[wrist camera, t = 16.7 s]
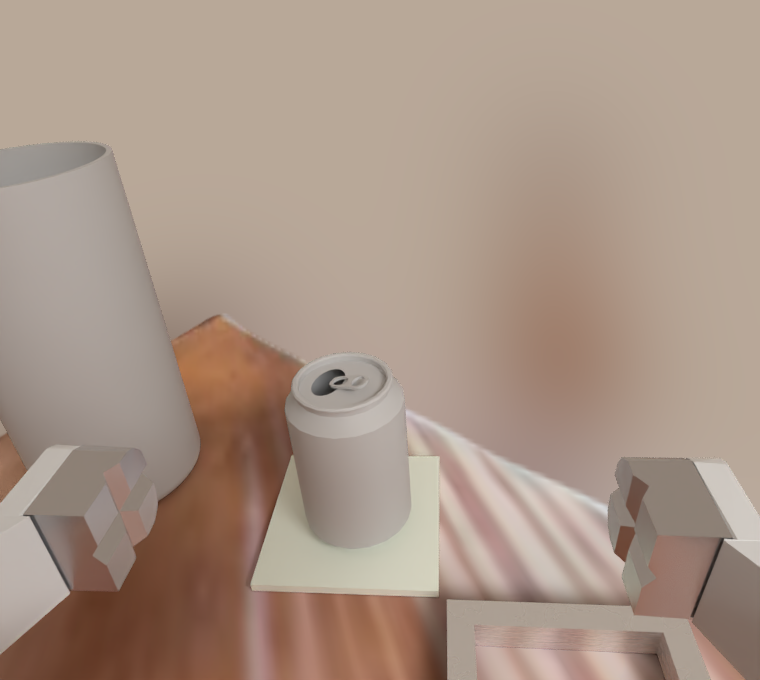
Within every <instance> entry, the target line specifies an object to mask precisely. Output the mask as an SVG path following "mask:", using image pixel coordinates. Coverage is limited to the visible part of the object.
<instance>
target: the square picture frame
mask: <svg viewBox="0 0 760 680" xmlns="http://www.w3.org/2000/svg"><path fill="white" fill-rule="evenodd" d="M475 646H493V647H515V648H537V649H560V650H582V651H604V652H626V653H648V654H657V656H658V659H659V662H660V665H661V668H662V671H663V674H664V678H665V680H711V679H710V676H709V674H708V671H707V669H706V666H705V663H704V661H703V658H702V656H701V653H700V651H699V648H698V645H697V643H696V640H695V638H694V635H693V632H692V630H691V627H690V625H689V622H688V620H687V619H680V618H666V617H653V616H639V615H634V614H633V611H632V608H631V606H617V605H589V604H561V603H534V602H506V601H478V600H451V599H447V680H477V670H476V651H475Z"/></svg>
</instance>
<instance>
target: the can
mask: <svg viewBox="0 0 760 680" xmlns="http://www.w3.org/2000/svg"><path fill="white" fill-rule="evenodd" d="M285 415H286V420H287V425H288V430H289V435H290V440H291V445H292V450H293V455H294V460H295V465H296V470H297V475H298V480H299V485H300V490H301V495H302V499H303V504H304V509H305V514H306V518H307V521H308V524H309V526H310V529H311V530H312V531H313V532H314V533H315V534H316V535H317V536H318V537H319V539H321V540H323V541H325V542H327V543H329V544H331V545H333V546H336V547H342V548H347V549H357V548H368V547H371V546H374V545H377V544H380V543H382V542H385V541H387V540H388V539H389V538H391V537H392V536H394V535H395V534H396V533H398V532H399V531H400V530H401V528H402V527H403V526H404V524H405V523H406V521H407V520H408V518H409V514H410V510H411V507H412V505H411V490H410V474H409V459H408V444H407V428H406V413H405V398H404V392H403V387H402V386H401V385H400V383H399V382H398V381H397V379H396V378H395V377H393V376H392V371H391V369H390V368H389V366H388V365H387V364H386V363H385V362H383V361H382V360H380V359H379V358H377V357H375V356H371V355H368V354H364V353H355V352H343V353H334V354H330V355H326V356H323V357H320V358H318V359H316V360H313V361H311V362H309V363H308V364H306V365H305V366H304V367H303V368H301V369H300V370H299V371H298V372H297V374H296V375H295V377H294V378H293V380H292V386H291V392H290V393H289V395H288V396H287V398H286V403H285Z"/></svg>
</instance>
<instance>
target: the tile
mask: <svg viewBox="0 0 760 680" xmlns="http://www.w3.org/2000/svg"><path fill="white" fill-rule="evenodd" d="M408 459H409V474H410V490H411V505H412V507H411V510H410V514H409V518H408V520H407V521H406V523H405V524H404V526H403V527H402V528H401V530H400V531H399V532H398V533H396V534H395V535H394V536H392V537H391V538H389V539H388V540H387V541H385V542H382V543H380V544H377V545H374V546H371V547H368V548H357V549H347V548H342V547H336V546H333V545H331V544H329V543H327V542H325V541H323V540H321V539H319V537H318V536H317V535H316V534H315V533H314V532H313V531H312V530H311V529H310V526H309V524H308V521H307V518H306V514H305V509H304V504H303V499H302V495H301V490H300V485H299V480H298V475H297V470H296V465H295V460H294V455H292V456H291V459H290V462H289V465H288V468H287V471H286V474H285V478H284V481H283V484H282V487H281V490H280V493H279V496H278V499H277V503H276V506H275V509H274V512H273V515H272V518H271V521H270V524H269V528H268V531H267V534H266V537H265V540H264V543H263V546H262V549H261V553H260V556H259V559H258V562H257V565H256V568H255V571H254V575H253V578H252V581H251V584H250V586H251V589H252V591H277V592H305V593H333V594H361V595H389V596H417V597H439V485H440V458H439V456H408Z"/></svg>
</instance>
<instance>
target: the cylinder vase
mask: <svg viewBox="0 0 760 680" xmlns="http://www.w3.org/2000/svg"><path fill="white" fill-rule="evenodd" d="M0 420H1V421H2V424H3V426H4V427H5V429H6V431H7V433H8V435H9V437H10V439H11V441H12V443H13V445H14V446H15V448H16V450H17V452H18V454H19V456H20V458H21V460H22V462H23V463H24V465H25V467H26V469H27V471H28V470H29V469H30V468H31V466H32V465H33V464H34V463H35V462H36V460H37V459H38V458H39V457H40V456H41V455H42V453H43V452H44V451H45V450H46V449H47V448H49V447H52V446H54V445H71V446H82V445H86V446H108V447H130V448H136V449H139V450H141V451H142V453H143V456H144V458H145V461H146V463H147V465H146V467H145V469H144V470H143V472H142V474H144V475H145V476H146V477H147V478H148V479H150V480H151V481H152V482H153V483H154V486H155V489H156V492H157V500H158V501H159V500H161V499H162V498H164V497H165V496H167V495H168V494H169V493H171V492H172V491H173V490H174V489H176V488H177V487H178V486H179V485H180V484H181V483H182V482H183V481H184V480H185V478H186V477H187V476H188V475H189V473H190V472H191V471H192V469H193V467H194V465H195V464H196V461H197V459H198V456H199V452H200V445H201V444H200V436H199V432H198V429H197V426H196V422H195V419H194V416H193V413H192V409H191V406H190V403H189V399H188V396H187V393H186V390H185V386H184V383H183V380H182V377H181V373H180V370H179V367H178V364H177V360H176V357H175V354H174V350H173V347H172V344H171V341H170V337H169V334H168V331H167V328H166V325H165V321H164V318H163V315H162V311H161V308H160V305H159V302H158V298H157V295H156V292H155V289H154V285H153V282H152V279H151V275H150V272H149V269H148V266H147V262H146V259H145V256H144V252H143V249H142V246H141V243H140V240H139V236H138V233H137V230H136V226H135V223H134V220H133V217H132V213H131V210H130V207H129V203H128V200H127V197H126V194H125V190H124V187H123V184H122V181H121V178H120V174H119V171H118V168H117V164H116V161H115V158H114V154H113V151H112V148H111V147H110V146H109V145H106V144H103V143H97V142H55V143H44V144H35V145H26V146H19V147H12V148H5V149H0Z"/></svg>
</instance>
